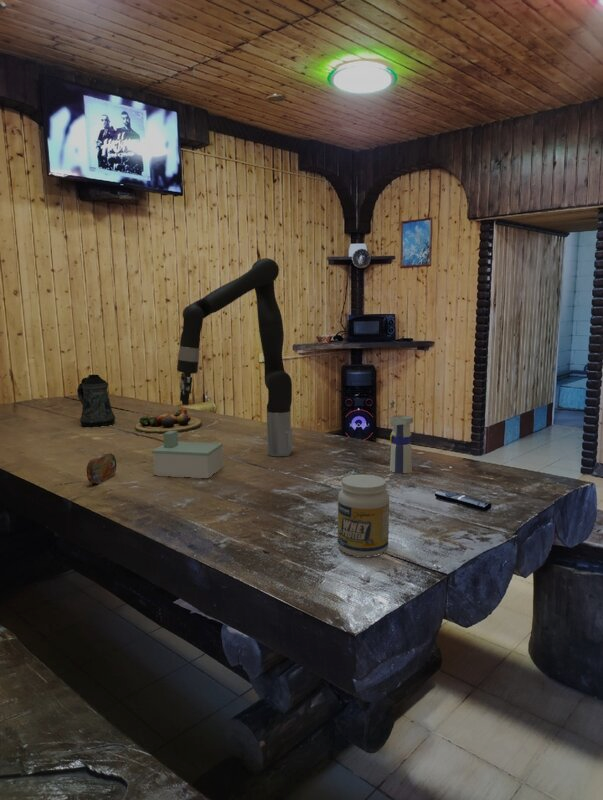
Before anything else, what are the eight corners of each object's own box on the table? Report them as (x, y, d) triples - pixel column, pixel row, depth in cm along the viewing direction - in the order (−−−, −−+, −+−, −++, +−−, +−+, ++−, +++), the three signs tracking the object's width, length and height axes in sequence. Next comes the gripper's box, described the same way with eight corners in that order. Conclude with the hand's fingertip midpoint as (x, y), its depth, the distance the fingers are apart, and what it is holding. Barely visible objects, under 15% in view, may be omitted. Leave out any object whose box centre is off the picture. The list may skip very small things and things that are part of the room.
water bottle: (386, 473, 199) (387, 402, 195) (391, 466, 207) (392, 398, 203) (409, 475, 196) (411, 403, 192) (413, 468, 204) (415, 399, 200)
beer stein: (108, 428, 279) (105, 377, 275) (69, 428, 279) (65, 377, 276) (119, 421, 296) (116, 373, 292) (82, 421, 296) (79, 373, 292)
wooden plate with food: (171, 418, 303) (170, 403, 302) (215, 424, 284) (214, 408, 283) (121, 430, 277) (119, 414, 276) (165, 438, 259) (164, 420, 258)
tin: (94, 487, 187) (92, 462, 185) (85, 486, 187) (83, 461, 186) (117, 474, 201) (116, 450, 200) (109, 473, 202) (108, 450, 201)
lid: (223, 450, 207) (222, 429, 206) (207, 460, 193) (207, 438, 192) (170, 447, 211) (169, 427, 210) (152, 457, 198) (151, 436, 196)
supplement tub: (330, 555, 134) (330, 485, 131) (345, 535, 145) (345, 471, 142) (382, 562, 129) (383, 490, 127) (393, 542, 141) (394, 475, 138)
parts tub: (222, 467, 208) (222, 446, 206) (208, 478, 194) (207, 456, 193) (171, 464, 212) (170, 443, 211) (154, 475, 199) (152, 453, 197)
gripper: (201, 362, 205) (196, 406, 207) (196, 358, 219) (191, 400, 221) (179, 360, 203) (175, 405, 205) (176, 356, 217) (172, 399, 218)
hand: (183, 402), depth 213 cm, fingers open, 8 cm apart
